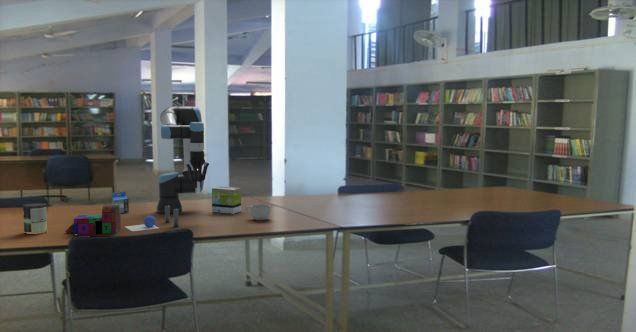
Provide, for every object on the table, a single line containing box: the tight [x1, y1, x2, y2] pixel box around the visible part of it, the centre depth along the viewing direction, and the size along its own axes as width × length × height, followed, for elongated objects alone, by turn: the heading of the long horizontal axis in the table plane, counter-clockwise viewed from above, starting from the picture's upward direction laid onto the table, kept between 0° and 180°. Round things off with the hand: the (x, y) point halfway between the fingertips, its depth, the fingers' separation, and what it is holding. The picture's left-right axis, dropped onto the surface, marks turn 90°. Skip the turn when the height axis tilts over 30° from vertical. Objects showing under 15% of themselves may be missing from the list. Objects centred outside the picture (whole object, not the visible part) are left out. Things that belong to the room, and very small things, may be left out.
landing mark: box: [124, 223, 160, 232], centre depth 285 cm, size 14×14×1 cm
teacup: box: [244, 203, 271, 222], centre depth 309 cm, size 14×11×8 cm
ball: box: [143, 215, 156, 227], centre depth 287 cm, size 6×6×6 cm
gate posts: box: [164, 206, 180, 228], centre depth 294 cm, size 16×3×9 cm, turn 35°
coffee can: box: [22, 202, 48, 232], centre depth 272 cm, size 10×10×14 cm
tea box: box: [211, 186, 242, 215], centre depth 333 cm, size 15×10×15 cm
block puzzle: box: [65, 203, 122, 236], centre depth 276 cm, size 25×17×14 cm
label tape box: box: [111, 191, 130, 214], centre depth 328 cm, size 9×4×12 cm, turn 131°
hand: (197, 193), depth 302 cm, fingers closed
